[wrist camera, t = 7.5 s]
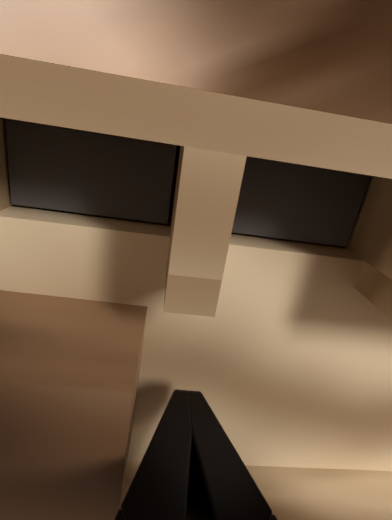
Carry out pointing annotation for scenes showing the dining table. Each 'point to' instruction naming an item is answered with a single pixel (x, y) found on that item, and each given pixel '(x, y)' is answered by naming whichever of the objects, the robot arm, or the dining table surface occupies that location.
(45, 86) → the trap tray
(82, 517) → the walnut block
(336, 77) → the dining table surface
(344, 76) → the dining table surface
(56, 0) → the dining table surface
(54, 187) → the mats
